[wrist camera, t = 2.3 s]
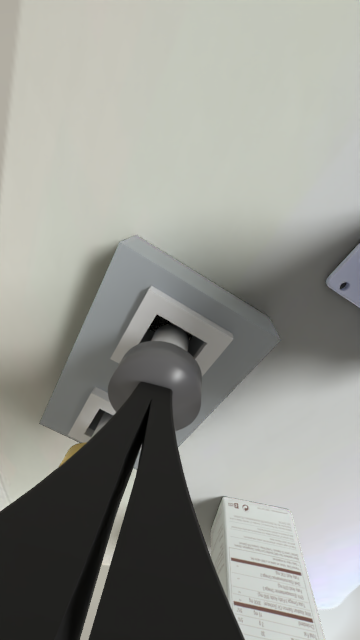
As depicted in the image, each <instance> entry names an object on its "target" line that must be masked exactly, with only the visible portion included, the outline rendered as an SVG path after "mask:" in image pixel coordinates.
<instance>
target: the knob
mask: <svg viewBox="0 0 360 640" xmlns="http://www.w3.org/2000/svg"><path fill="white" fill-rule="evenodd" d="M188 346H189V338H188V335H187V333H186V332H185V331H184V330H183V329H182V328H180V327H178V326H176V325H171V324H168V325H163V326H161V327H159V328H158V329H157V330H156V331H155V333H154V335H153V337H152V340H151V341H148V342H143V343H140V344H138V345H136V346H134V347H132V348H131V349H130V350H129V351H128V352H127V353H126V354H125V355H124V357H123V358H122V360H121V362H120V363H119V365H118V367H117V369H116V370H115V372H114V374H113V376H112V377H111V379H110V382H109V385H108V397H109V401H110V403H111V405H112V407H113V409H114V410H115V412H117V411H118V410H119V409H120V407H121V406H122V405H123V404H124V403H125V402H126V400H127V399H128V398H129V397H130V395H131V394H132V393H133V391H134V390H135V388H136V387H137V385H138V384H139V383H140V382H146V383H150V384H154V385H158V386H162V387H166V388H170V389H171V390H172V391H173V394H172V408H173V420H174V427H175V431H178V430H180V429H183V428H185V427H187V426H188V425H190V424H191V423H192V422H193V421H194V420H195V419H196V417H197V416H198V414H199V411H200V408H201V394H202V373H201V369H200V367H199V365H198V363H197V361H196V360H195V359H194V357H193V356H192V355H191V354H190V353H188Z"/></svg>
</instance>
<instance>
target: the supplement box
mask: <svg viewBox="0 0 360 640" xmlns="http://www.w3.org/2000/svg"><path fill="white" fill-rule="evenodd" d="M211 559H212V562H213V564H214V567H215V569H216V572H217V574H218V577H219V579H220V582H221V584H222V587H223V589H224V592H225V594H226V597H227V599H228V601H229V604H230V606H231V608H232V611H233V613H234V616H235V618H236V620H237V622H238V625H239V627H240V629H241V632H242V634H243V636H244V638H245V640H325V637H324V633H323V629H322V625H321V621H320V618H319V614H318V610H317V606H316V603H315V599H314V595H313V591H312V588H311V584H310V580H309V576H308V573H307V569H306V565H305V562H304V558H303V554H302V550H301V547H300V543H299V539H298V535H297V532H296V528H295V525H294V521H293V517H292V514H291V511H289V510H288V509H284V508H279V507H275V506H270V505H265V504H260V503H255V502H250V501H245V500H240V499H235V498H230V497H223V498H222V500H221V503H220V506H219V508H218V511H217V514H216V517H215V520H214V522H213V525H212V528H211Z"/></svg>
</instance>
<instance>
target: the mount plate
mask: <svg viewBox="0 0 360 640" xmlns="http://www.w3.org/2000/svg"><path fill="white" fill-rule="evenodd" d="M157 314H158V315H159V316H161V317H163V318H164V319H166V320H168V321H170V322H171V323H173V324H175V325H177V326H178V327H180V328H182V329H183V330H185V331H187V332H189V333H190V334H192V335H194V336H193V337H192V339H191V340H190V341H189V346H188V353H190V354H191V355H192V356H193V357H194V359H195V360H196V361H197V363H198V365H199V367H200V369H201V373H202V394H201V408H200V411H199V414H198V416H197V417H196V419H195V420H194V421H193V422H192V423H191V424H190V425H188V426H187V427H185V428H183V429H180V430H178V431H175V434H176V440H177V445H178V447H179V446H180V445H181V444H182V443H183V442H184V441H185V440H186V439H187V438H188V437H189V435H190V434H191V433H192V432H193V431H194V430H195V429H196V428H197V427H198V426H199V425H200V424H201V423H202V422H203V421H204V420H205V419H206V418H207V417H208V416H209V415H210V414H211V413H212V411H213V410H214V409H215V408H216V407H217V406H218V405H219V404H220V403H221V402H222V401H223V400H224V399H225V398H226V397H227V396H228V395H229V394H230V393H231V392H232V391H233V390H234V389H235V387H236V386H237V385H238V384H239V383H240V382H241V381H242V380H243V379H244V378H245V377H246V376H247V375H248V374H249V373H250V372H251V371H252V370H253V369H254V368H255V367H256V366H257V365H258V363H259V362H260V361H261V360H262V359H263V358H264V357H265V356H266V355H267V354H268V353H269V352H270V351H271V350H272V349H273V348H274V347H275V346H276V345H277V344H278V343H279V342H280V341H281V339H280V337H279V335H278V333H277V331H276V329H275V328H274V326H273V324H272V322H271V320H270V318H269V317H268V316H267V315H265V314H263V313H262V312H260V311H258V310H257V309H255V308H254V307H252V306H250V305H249V304H247V303H246V302H244V301H242V300H241V299H239V298H237V297H236V296H234V295H233V294H231V293H229V292H228V291H226V290H225V289H223V288H221V287H220V286H218V285H217V284H215V283H213V282H212V281H210V280H208V279H207V278H205V277H204V276H202V275H200V274H199V273H197V272H196V271H194V270H192V269H191V268H189V267H188V266H186V265H184V264H183V263H181V262H179V261H178V260H176V259H175V258H173V257H171V256H170V255H168V254H167V253H165V252H163V251H162V250H160V249H159V248H157V247H155V246H154V245H152V244H150V243H149V242H147V241H146V240H144V239H142V238H141V237H139V236H138V235H135V236H133V237H130V238H128V239H125V240H123V241H120V242H119V245H118V247H117V249H116V251H115V254H114V256H113V258H112V260H111V263H110V265H109V267H108V269H107V272H106V274H105V276H104V278H103V281H102V283H101V285H100V287H99V290H98V292H97V294H96V296H95V299H94V301H93V303H92V306H91V308H90V310H89V312H88V315H87V317H86V319H85V321H84V324H83V326H82V328H81V330H80V333H79V335H78V337H77V339H76V342H75V344H74V346H73V348H72V351H71V353H70V355H69V357H68V360H67V362H66V364H65V366H64V369H63V371H62V373H61V375H60V378H59V380H58V382H57V384H56V387H55V389H54V391H53V394H52V396H51V398H50V400H49V403H48V405H47V407H46V409H45V412H44V414H43V416H42V418H41V421H40V423H39V424H41V425H43V426H45V427H48V428H50V429H52V430H54V431H56V432H58V433H60V434H62V435H64V436H67V437H69V438H71V439H73V440H75V441H77V442H79V443H85V442H88V441H89V440H90V439H91V437H92V435H93V433H94V431H95V429H96V427H97V426H98V424H99V422H100V420H101V418H102V416H103V414H104V413H105V412H107V413H109V414H111V415H114V414H115V413H116V412H115V410H114V409H113V407H112V405H111V403H110V401H109V397H108V385H109V382H110V379H111V377H112V376H113V374H114V372H115V370H116V369H117V367H118V365H119V363H120V362H121V360H122V358H123V357H124V355H125V354H126V353H127V352H128V351H129V350H130V349H131V348H132V347H134V346H136V345H138V344H140V343H143V342H148V341H151V340H152V337H153V335H154V333H155V332H154V331H152V330H150V329H149V326H150V325H151V323H152V321H153V320H154V318H155V316H156V315H157ZM141 447H142V446H141ZM140 452H141V448H140V451H139V454H138V456H137V459H136V462H135V464H134V467H133V468H134V469H136V470H137V468H138V463H139V458H140Z"/></svg>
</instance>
